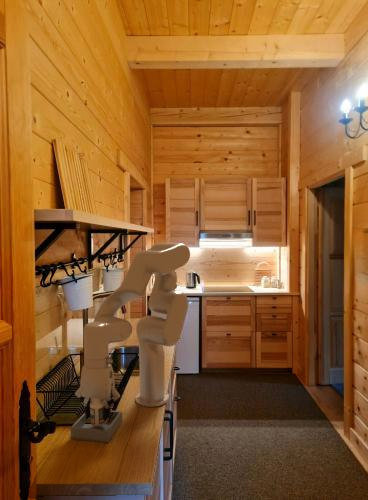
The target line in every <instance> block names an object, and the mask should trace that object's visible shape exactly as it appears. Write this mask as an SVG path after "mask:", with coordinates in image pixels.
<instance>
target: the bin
mask: <svg viewBox="0 0 368 500" xmlns="http://www.w3.org/2000/svg"><path fill="white" fill-rule="evenodd" d="M112 412H113V415H112V417H111V420H110V422H109V423H108V419H109V418H108V419H107V422H106V423H105V424H104V425H102V426H93V425H91V424H85V421H86V420H87V419H86V414H85V412H84V413H83V414H82V415H81V416H80V417H79V418H78V419H77V420H76V421H75V422H74V423H73V424H72V426H71V427H70V440H75V441H84V442H93V443H102V444H109V442H110V440H111V439H112V437H113V436H114V434H115V433H116V432H117V430H118V429H119V427H120V426H121V425H122V423H123V411H121V410H120V411H119V410H111V413H112ZM110 415H111V414H110Z"/></svg>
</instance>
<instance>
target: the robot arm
mask: <svg viewBox="0 0 368 500" xmlns="http://www.w3.org/2000/svg"><path fill="white" fill-rule="evenodd" d="M190 258H191V251H190V247H188V245H186V244H185V243H179V242H177V243H176V242H159V243H155V244H153V245H152V246H151V247H150V250H147V249H145V250H140V251H138V252H137V253H136V254H135V255H134V257H133V259H132V261H131V264H130V265H129V267H128V270H127V272H126V274H125V276H124V278H123V281H122V283H120V285H119V286H118V288H116V289H115V290H113V292H111V294H109V295H108V296H107V297H105V299H104V300H103V301H102V303H101V304H100V306H99V308H98V310H97V312H96V314H95V317H94V319H93V321H91V322H88V323H86V324H85V325H84V327H83V351H84V352H83V358H84V359H83V360H84V365H82V368H81V373H80V383H79V385H80V386H79V387H78V389H77V390H76V391H75V392H74V394H75V396H76V397H77V398H78V399H79V401H81V403H82V405H83V406H84V413H85V414H86V419H88V418H89V417H90V403H91V402H92V400H91V398H95V399H103V402H104V405H105V407H104V409H103V416H104V421H106V420H107V419H108V417H109V416H110V414H111V411H112V409H111V405H113V404H114V402H116V401H117V400H119V398H120V397H121V395H120V393H119V391H118V390H117V389H116V386H115V385H116V383H115V377H114V376H115V375H114V370H113V366H112V364H113V362H114V360H113V359H112V358H110V354H109V353H110V350H109V345H110V344H114V343H116V344H117V343H122V342H124V341H126V340H128V339H129V338H130V337H131V335H132V333H133V325H132V323H131V322H130V321H129V320H127V319H125V318H121V317H116V315H117V312H118V311H119V310H120V309H121V308H122V307H124V305H127V304H128V303H130V302H133V301H136V300H138V299H140V298H142V297H143V296H144V294H145V291H146V290H147V286H148V285H149V284H150V281H151V278H152V276H153V275H155V279H154V282H153V286H152V290H151V292H150V295H149V299H148V303H147V305H148V309H149V310H150V311H151V312H153V313H155V314H159V315H164V316H165V315H166V316H165V318H164V317H160V316H154V315H146V316H142V317H141V318H140V319H138V321H137V322H136V323H137V324H136V329H135V331H136V338H137V342H138V352H139V355H138V356H139V358H138V359H139V360H138V361H139V362H138V363H139V366H138V367H139V392H138V393H137V394H136V395H135V401H136V403H137V404H138V405H140V406H143V407H145V408H146V407H149V408H151V407H152V408H154V407H160V406H162V405H165V404H167V402H168V401H170V394H169V393H168V391H166V368H165V367H166V364H165V363H166V362H165V361H166V360H165V359H166V357H165V356H166V354H165V348H164V347H174V346H175V345H177V344H178V342H179V341H180V338H181V335H182V332H183V329H184V325H185V322H186V318H187V317H186V316H187V314H188V311H189V310H188V309H189V299H188V296H187V295H186V294H185V293H184V292H183V291H180V290H176V287H177V282H178V275H177V272H176V270H178V269H180V268H182V267H184V266H185V265H186V264H188V262H189V261H190ZM111 395H112V396H113V397H112V398H111Z"/></svg>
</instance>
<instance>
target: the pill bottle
mask: <svg viewBox="0 0 368 500" xmlns="http://www.w3.org/2000/svg"><path fill="white" fill-rule="evenodd" d="M90 402H91V403H90V423H91V425H93V426H102V425H104V424H105V423H106V422H107V420H106V421H104V416H103V409H104V407H105V405H104V402H103V399H95V398H91V401H90Z"/></svg>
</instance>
